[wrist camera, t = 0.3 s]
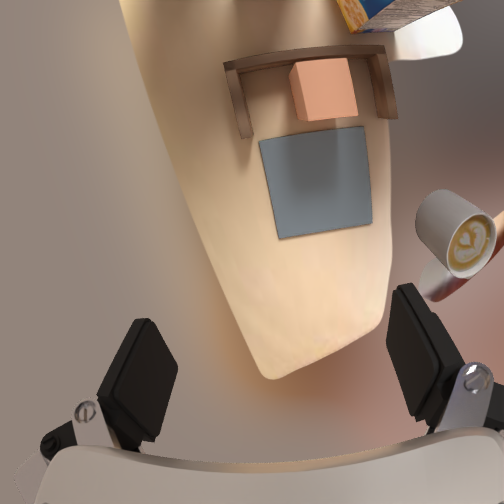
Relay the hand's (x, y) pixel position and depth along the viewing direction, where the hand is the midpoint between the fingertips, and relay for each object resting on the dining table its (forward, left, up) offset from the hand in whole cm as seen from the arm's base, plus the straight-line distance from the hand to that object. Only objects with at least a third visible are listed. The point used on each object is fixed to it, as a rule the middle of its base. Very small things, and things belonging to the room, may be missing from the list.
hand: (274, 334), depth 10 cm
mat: (+3, +6, -29) cm, 30 cm away
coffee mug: (+13, +26, -30) cm, 42 cm away
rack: (-9, +7, -29) cm, 32 cm away
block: (-9, +7, -29) cm, 32 cm away
